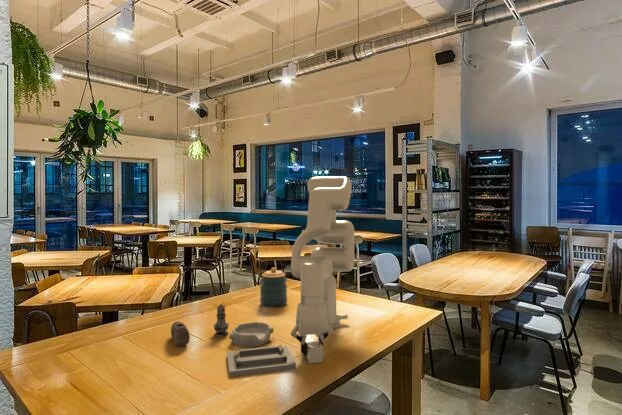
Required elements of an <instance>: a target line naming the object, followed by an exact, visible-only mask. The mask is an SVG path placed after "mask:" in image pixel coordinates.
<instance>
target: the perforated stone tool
mask: <svg viewBox="0 0 622 415" xmlns="http://www.w3.org/2000/svg"><path fill="white" fill-rule="evenodd" d="M170 335H171V338H172V340H173V342H174V344H175V345H176V346H179V347H181V346H186V345H188V344H189V342H190V331H189V329H188V327H187V326H186V325H185V324H184V323H183V322H181V321H174V322H173V323H172V325H171V328H170Z"/></svg>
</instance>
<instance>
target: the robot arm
mask: <svg viewBox="0 0 622 415" xmlns="http://www.w3.org/2000/svg"><path fill="white" fill-rule="evenodd" d="M307 191H308V194H309V195H308V196H309V197H308V205H307V206H308V209H307V220H306V223H307V224H306V227H305V229H304V230H303V231H302V232H301V233H300V234H299V235H298V237H297V238H296V240H295V241H294V244H293V247H292V251H291V259H290V260H291V261H290V272H291V275H292V276H293V277H294V278H297V279H300V301H299V302H298V303H297V306H296V318H295V326H294V327H293V329H292V330H291V331H290V336H291V337H293V338H294V339H296V340H297V341H298V342H299V343H300V353H301V354H303V356H304V357H306V356H307V345H306V342H305V341H306V337H307V335H314V334H315V335H318V340H319V341H320V343H321V344H322V346H323V347H324V343H325V340H326V339H327V338H328V337H329V335H331V334H332V333H333V332H334V329H336V327H337V328H338V326H339V325H341V320H348V318H349V316H348V313H347V314H345V313H344V314H343V312H339V313H338V312H337V280H336V278H335V276H334V275H333V272H345V273H347V272H351V271H352V270H353V269H354V267H355V227H354V224H353V223H352V222H351V221H349V220H337V211H345V210H347V209H348V207H349V205H350V200H351V194H352V181H351V179H350V178H349V177H347V176H327V175H326V176H324V175H323V176H322V175H321V176H313V177H311V178H309V179H308V180H307ZM314 239H315V241H316V242H317V243H319V244H328V245H329V244H330V245H342V247H337V246H336V247H335V246H334V247H332V246H318V247H315V248H314V249H313V250H312V251H311V254H310V256H307V255H306V256H305V255H304V256H302V255H301V254H302V250H303V247H305V245H306V244H307V243H309V242H310V241H312V240H314ZM339 327H340V326H339ZM332 328H334V329H332ZM297 332H298V333H297Z"/></svg>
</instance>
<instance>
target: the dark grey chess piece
mask: <svg viewBox="0 0 622 415" xmlns="http://www.w3.org/2000/svg"><path fill="white" fill-rule="evenodd" d="M215 316H216V323H214V324H212V325H213V326H212V327H213V329H214V331H215V333H214V334H213V336H214V337H217V338H221V337H222V338H224V337H227V336H229V332H228V329H229V326H230V324H229V322H226V316H227V314H226V306H224V305H223V304H222V303H219V305H218V306H217V307H216V315H215Z"/></svg>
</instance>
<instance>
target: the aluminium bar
mask: <svg viewBox="0 0 622 415" xmlns="http://www.w3.org/2000/svg"><path fill="white" fill-rule="evenodd" d="M318 339H319V337H317V334H314V335H307V337H306V341H305V342H306V345H307V356H305V358H306V360H307V362H308V364H318V362H319V363H324V345H323V346H322V344H321V343H320V341H319V340H318Z"/></svg>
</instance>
